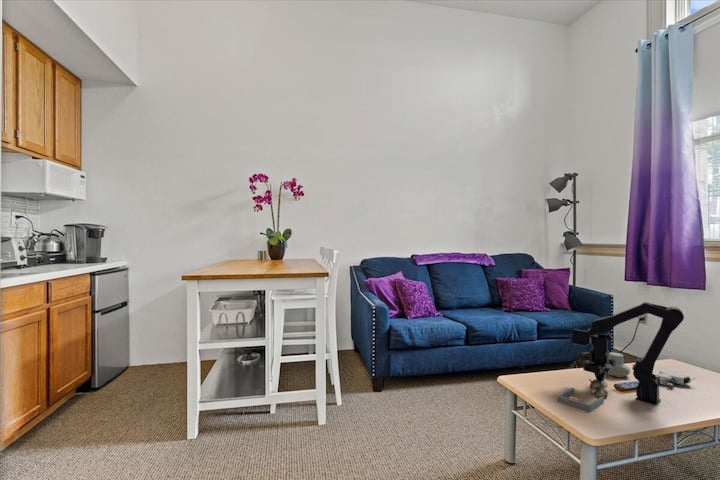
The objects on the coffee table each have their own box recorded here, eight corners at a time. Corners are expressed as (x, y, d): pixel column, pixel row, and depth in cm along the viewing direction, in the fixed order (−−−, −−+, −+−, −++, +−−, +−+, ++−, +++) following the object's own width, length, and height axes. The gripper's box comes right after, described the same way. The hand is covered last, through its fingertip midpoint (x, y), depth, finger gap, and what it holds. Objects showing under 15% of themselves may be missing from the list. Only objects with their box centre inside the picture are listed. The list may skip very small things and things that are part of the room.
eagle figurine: (582, 386, 158) (584, 389, 150) (593, 373, 157) (595, 376, 149) (600, 399, 154) (603, 403, 146) (611, 386, 153) (614, 389, 145)
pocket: (604, 402, 144) (604, 395, 144) (590, 412, 136) (590, 404, 136) (571, 392, 153) (571, 385, 153) (557, 400, 145) (557, 393, 145)
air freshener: (606, 377, 171) (606, 355, 171) (599, 371, 180) (599, 350, 180) (633, 379, 169) (633, 357, 169) (624, 373, 177) (624, 352, 177)
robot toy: (672, 392, 157) (697, 386, 161) (671, 381, 157) (696, 376, 161) (643, 381, 169) (667, 376, 173) (642, 372, 169) (666, 366, 173)
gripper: (588, 340, 169) (588, 374, 169) (570, 347, 158) (570, 383, 158) (616, 346, 160) (616, 382, 160) (599, 354, 149) (599, 392, 149)
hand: (599, 384), depth 157 cm, fingers closed
